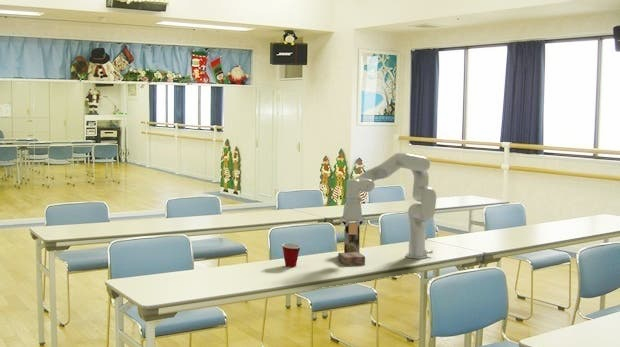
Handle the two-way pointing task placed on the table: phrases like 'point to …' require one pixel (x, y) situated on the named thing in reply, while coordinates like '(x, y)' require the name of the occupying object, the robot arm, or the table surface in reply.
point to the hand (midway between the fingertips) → (352, 232)
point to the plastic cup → (290, 254)
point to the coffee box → (351, 242)
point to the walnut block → (351, 258)
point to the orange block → (352, 228)
